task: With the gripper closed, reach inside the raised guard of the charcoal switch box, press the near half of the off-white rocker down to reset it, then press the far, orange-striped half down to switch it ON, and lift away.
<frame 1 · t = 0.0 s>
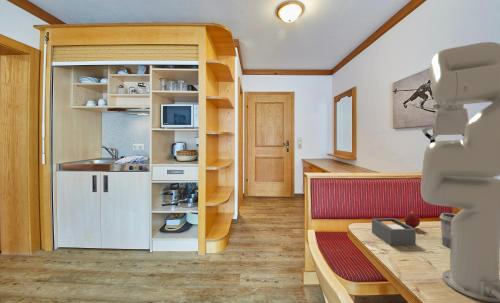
hand: (449, 149, 87), 37 cm above the table, tool pointing down, fingers open, 9 cm apart
onion: (411, 229, 102), on the table
rocker: (392, 226, 92), point 5 cm above the table, hinge at 0.0°
switch box: (392, 238, 92), on the table
cup: (450, 246, 85), on the table
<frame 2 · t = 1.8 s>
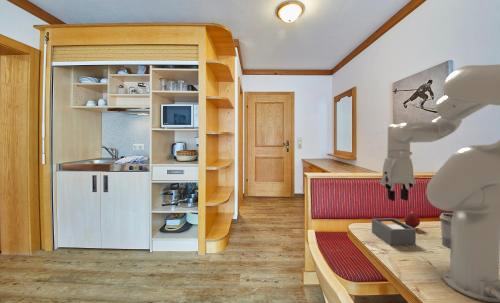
hand: (397, 199, 88), 17 cm above the table, tool pointing down, fingers open, 4 cm apart
nothing on the table moved.
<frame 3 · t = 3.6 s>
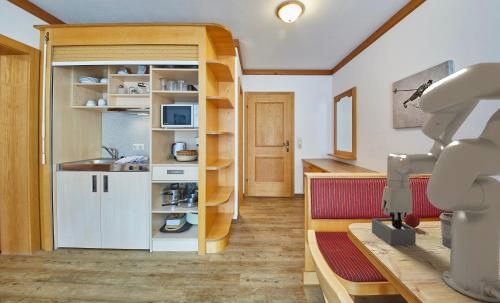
hand: (396, 228, 89), 5 cm above the table, tool pointing down, fingers closed
rocker: (392, 226, 92), point 5 cm above the table, hinge at 0.0°, touching gripper
everything else where it was.
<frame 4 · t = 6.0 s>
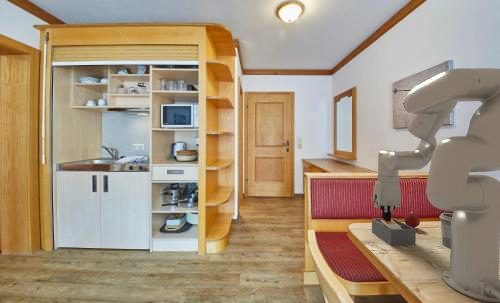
hand: (386, 220, 96), 6 cm above the table, tool pointing down, fingers closed
rocker: (392, 226, 92), point 5 cm above the table, hinge at -11.9°, touching gripper
everything else where it was.
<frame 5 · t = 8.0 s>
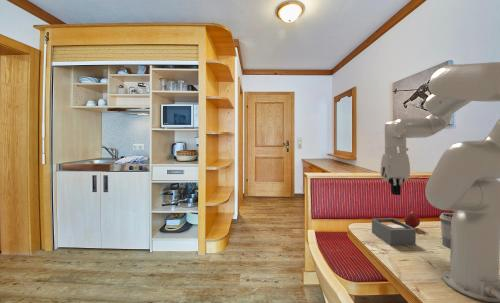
hand: (395, 194, 92), 19 cm above the table, tool pointing down, fingers closed
rocker: (392, 226, 92), point 5 cm above the table, hinge at 7.1°
everything else where it was.
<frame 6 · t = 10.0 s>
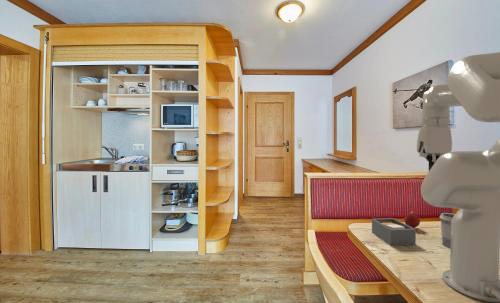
hand: (434, 172, 82), 29 cm above the table, tool pointing down, fingers closed
rocker: (392, 226, 92), point 5 cm above the table, hinge at 8.6°
everything else where it was.
at the end: rocker at +9° (first picture: +0°); onion moved 0.2 cm from its start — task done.
